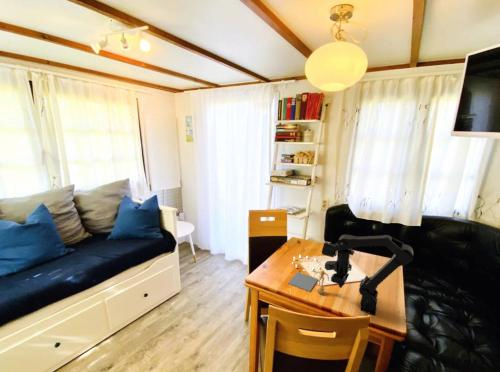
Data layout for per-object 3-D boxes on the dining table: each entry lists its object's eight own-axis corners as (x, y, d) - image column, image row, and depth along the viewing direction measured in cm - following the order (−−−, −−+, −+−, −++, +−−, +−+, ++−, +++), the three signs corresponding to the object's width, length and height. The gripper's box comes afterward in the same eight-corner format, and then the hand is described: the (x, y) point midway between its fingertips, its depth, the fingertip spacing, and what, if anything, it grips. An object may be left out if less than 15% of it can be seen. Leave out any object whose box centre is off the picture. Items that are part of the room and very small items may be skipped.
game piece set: (325, 273, 146) (325, 267, 146) (293, 272, 147) (293, 266, 146) (317, 257, 165) (317, 252, 165) (289, 257, 166) (289, 252, 165)
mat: (318, 279, 139) (318, 278, 138) (309, 292, 127) (309, 291, 127) (297, 272, 146) (297, 271, 146) (288, 283, 134) (288, 282, 134)
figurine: (311, 291, 127) (312, 272, 125) (313, 286, 133) (315, 266, 130) (327, 296, 123) (328, 276, 121) (329, 290, 129) (330, 270, 126)
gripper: (331, 248, 130) (329, 274, 133) (321, 262, 115) (319, 291, 118) (353, 254, 124) (350, 280, 127) (345, 269, 109) (342, 299, 112)
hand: (340, 287), depth 121 cm, fingers closed
